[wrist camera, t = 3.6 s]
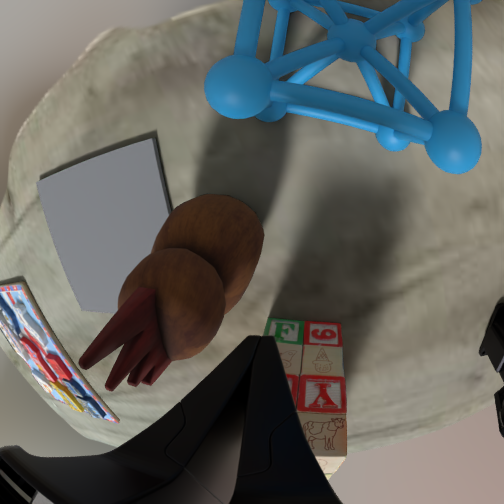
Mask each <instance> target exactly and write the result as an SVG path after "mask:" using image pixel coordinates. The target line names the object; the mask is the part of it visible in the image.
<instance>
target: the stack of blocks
mask: <svg viewBox="0 0 504 504" xmlns="http://www.w3.org/2000/svg"><path fill="white" fill-rule="evenodd" d="M263 335H273V336H274V337H275V339H276V343H277V346H278V349H279V353H280V356H281V359H282V363H283V366H284V369H285V373H286V376H287V379H288V383H289V386H290V389H291V393H292V396H293V399H294V402H295V406H296V409H297V413H298V415H299V419H300V422H301V425H302V428H303V430H304V433H305V436H306V438H307V440H308V443H309V445H310V447H311V449H312V451H313V453H314V455H315V457H316V459H317V461H318V463H319V465H320V467H321V468H322V470H323V472H324V474H325V476H326V478H327V480H329V478H330V477H331V476H332V474H333V473H335V472H336V470H337V469H338V468H339V467H340V465H341V464H342V463H343V462H344V460H345V459H346V455H347V421H346V412H347V398H346V385H345V378H344V365H343V341H342V331H341V324H340V323H328V322H314V321H297V320H287V319H277V318H268V319H267V323H266V326H265V330H264V334H263Z"/></svg>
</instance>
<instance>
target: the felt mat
mask: <svg viewBox="0 0 504 504" xmlns="http://www.w3.org/2000/svg"><path fill="white" fill-rule="evenodd" d="M36 184H37V188H38V192H39V196H40V200H41V204H42V207H43V211H44V214H45V217H46V221H47V224H48V227H49V230H50V233H51V236H52V239H53V242H54V245H55V248H56V250H57V253H58V256H59V259H60V261H61V264H62V266H63V269H64V271H65V274H66V276H67V279H68V281H69V283H70V286H71V288H72V290H73V292H74V295H75V297H76V299H77V301H78V303H79V305H80V307H81V310H82V311H91V312H102V313H114V314H115V313H116V312H117V311H118V296H119V293H120V290H121V288H122V285H123V283H124V281H125V279H126V277H127V276H128V275H129V274H130V273H131V271H132V270H133V269H134V268H135V267H136V266H137V265H138V264H139V263H140V262H141V261H142V260H143V259H144V258H145V257H146V256H148V255H149V254H151V250H152V247H153V244H154V242H155V239H156V236H157V235H158V233H159V231H160V229H161V228H162V226H163V224H164V223H165V221H166V219H167V218H168V216H169V215H170V213H171V208H170V204H169V199H168V195H167V191H166V186H165V182H164V177H163V173H162V168H161V163H160V158H159V154H158V149H157V143H156V138H151V139H148V140H144V141H141V142H138V143H134V144H131V145H128V146H125V147H122V148H119V149H116V150H113V151H110V152H108V153H105V154H102V155H99V156H97V157H94V158H91V159H89V160H86V161H84V162H81V163H79V164H76V165H74V166H71V167H69V168H67V169H64V170H62V171H60V172H57V173H55V174H53V175H51V176H48V177H46V178H44V179H42V180H40V181H38V182H36Z"/></svg>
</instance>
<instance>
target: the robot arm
mask: <svg viewBox="0 0 504 504" xmlns="http://www.w3.org/2000/svg"><path fill="white" fill-rule="evenodd" d="M479 355H480V356H485V355H488V357H489V359H490V361H491V363H492V365H493V367H494V369H495V371H496V372H497V373H498V372H499V373H500V375H501V377H502V380H503V382H504V303H502V304H499V305H497V307H496V308H495V311H494V314H493V317H492V320H491V322H490V325H489V328H488V330H487V333H486V335H485V338H484V340H483V343H482V345H481V348H480V350H479ZM494 397H495V404H496V410H497V416H498V423H499V431H500V433H501V435H502V437H504V386H503V387H502V388H501V389H500V390H498V391H497V392H496V393H495V394H494ZM0 504H343V503H342V502H341V501H340V499H339V498H338V496H337V495H336V493H335V492H334V490H333V489H332V487H331V485H330V484H329V482H328V480H327V478H326V476H325V474H324V472H323V470H322V468H321V467H320V465H319V463H318V461H317V459H316V457H315V455H314V453H313V451H312V449H311V447H310V445H309V443H308V440H307V438H306V436H305V433H304V430H303V428H302V425H301V422H300V419H299V415H298V413H297V409H296V406H295V402H294V399H293V396H292V393H291V389H290V386H289V383H288V379H287V376H286V373H285V369H284V366H283V363H282V359H281V356H280V353H279V349H278V346H277V343H276V339H275V337H274V336H273V335H263V336H260V335H249V336H247V337H246V338H245V339H244V340H243V341H242V342H241V343H240V344H239V345H238V346H237V347H236V348H235V349H234V350H233V351H232V352H231V353H230V354H229V355H228V356H227V357H226V358H225V359H224V360H223V361H222V362H221V363H220V364H219V365H218V366H217V367H216V368H215V369H214V370H213V371H212V372H211V373H210V374H209V375H208V376H207V377H205V378H204V379H203V380H202V381H201V382H200V383H199V384H198V385H197V386H196V387H195V388H194V389H193V390H192V391H191V392H189V393H188V394H187V395H186V396H185V397H184V398H183V399H182V400H181V403H180V402H178V403H177V404H176V405H175V406H174V407H173V408H172V409H171V410H169V411H168V412H167V413H166V414H165V415H164V416H162V417H161V418H160V419H159V420H157V421H156V422H155V423H153V424H152V425H151V426H149V427H148V428H146V429H145V430H143V431H142V432H141V433H139V434H138V435H136V436H135V437H133V438H132V439H130V440H128V441H127V442H125V443H124V444H122V445H121V446H119V447H118V448H116V449H114V450H112V451H110V452H107V453H104V454H100V455H92V456H77V457H38V456H34V455H31V454H29V453H27V452H26V451H25V450H23V449H22V448H21V447H20V446H17V445H14V446H4V447H1V448H0Z"/></svg>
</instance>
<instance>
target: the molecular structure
mask: <svg viewBox="0 0 504 504" xmlns="http://www.w3.org/2000/svg"><path fill="white" fill-rule="evenodd" d="M447 1H449V0H401V1H399V2H397V3H395V4H394V5H392V6H390V7H389V8H387V9H385V10H384V11H382V12H379V11H376V10H372V9H369V8H365V7H362V6H358V5H354V4H350V3H346V2H341V1H337V0H268V2H269V4H270V5H271V6H272V7H273V8H274V9H276V10H277V11H278V13H277V19H276V25H275V31H274V37H273V43H272V49H271V55H270V61H269V62H267V63H263V62H262V61H260V60H259V59H257V58H255V56H256V50H257V44H258V38H259V32H260V27H261V21H262V16H263V10H264V5H265V0H244V1H243V6H242V11H241V16H240V21H239V27H238V32H237V37H236V43H235V49H234V55H231V56H228V57H225V58H223V59H221V60H219V61H218V62H217V63H216V64H214V65H213V66H212V67H211V69H210V70H209V72H208V73H207V76H206V79H205V82H204V90H205V95H206V99H207V101H208V102H209V104H210V105H211V107H212V108H213V109H215V110H216V111H217V112H218V113H220V114H222V115H224V116H226V117H229V118H233V119H245V118H249V117H252V116H255V117H256V118H257V119H259V120H261V121H264V122H274V121H277V120H279V119H281V118H282V117H283V116H284V115H285V114H286V112H288V113H293V114H299V115H304V116H309V117H314V118H319V119H323V120H328V121H332V122H336V123H340V124H344V125H348V126H352V127H356V128H359V129H363V130H367V131H370V132H374V133H375V134H376V138H377V140H378V142H379V143H380V144H381V145H382V146H383V147H384V148H385V149H387V150H389V151H401V150H404V149H405V148H406V147H407V146H408V145H409V144H410V142H414V143H418V144H423V145H425V149H426V151H427V154H428V155H429V157H430V159H431V160H432V162H433V163H434V164H435V165H436V166H437V167H439V168H440V169H442V170H444V171H445V172H448V173H453V174H462V173H465V172H468V171H469V170H471V169H472V168H474V166H475V165H476V164H477V162H478V160H479V158H480V155H481V149H482V144H481V137H480V134H479V132H478V129H477V128H476V126H475V125H474V124H473V122H472V121H471V120H470V119H469V118H468V117H467V112H468V104H469V95H470V85H471V71H472V19H471V6H470V5H474V4H477V3H479V2H481V1H482V0H454V17H455V49H454V68H453V80H452V90H451V98H450V106H449V110H443V111H441V112H439V111H438V109H437V108H436V107H435V106H434V105H433V104H432V103H431V102H430V101H429V100H428V98H427V97H426V96H425V95H424V94H423V93H422V92H421V91H420V90H419V89H418V88H417V87H416V86H415V85H414V84H413V83H412V82H411V81H410V80H409V79H408V77H409V68H410V59H411V48H412V42H417V41H419V40H420V39H422V37H423V36H424V33H425V27H424V24H423V22H422V21H423V20H425V19H426V18H427V17H428V16H430V15H431V14H432V13H433V12H435V11H436V10H437V9H438V8H440V7H441V6H442V5H444V4H445V3H446V2H447ZM313 6H317V7H323V8H324V9H325V11H326V12H327V14H328V15H329V16H328V15H326V14H325V13H323V12H321V11H320V10H318V9H316V8H315V7H313ZM297 10H299V11H300V12H302V13H303V14H305V15H306V16H308V17H309V18H311V19H312V20H314V21H315V22H317V23H318V24H320V25H321V26H323V27H324V28H325V29H327V30H328V34H327V40H325V41H322V42H319V43H316V44H313V45H310V46H308V47H305V48H302V49H299V50H297V51H294V52H291V53H289V54H286V55H284V56H283V52H284V46H285V40H286V33H287V27H288V21H289V15H290V12H295V11H297ZM344 12H346V13H351V14H355V15H358V16H362V17H366V18H369V20H368V21H366V22H365V23H363V22H361V21H359V20H356V19H348V18H347V16H346V14H345V13H344ZM393 35H396V36H397V37H398V38H400V39H401V43H400V54H399V63H398V69H397V68H396V67H395V66H394V65H393V64H392V63H390V62H389V61H388V60H387V59H386V58H385V57H383V56H382V55H381V54H380V53H379V52H377V51H376V45H377V43H376V40H378V39H382V38H385V37H389V36H393ZM338 58H341V59H343V60H346V61H349V62H356V63H357V65H358V67H359V69H360V71H361V73H362V75H363V77H364V79H365V81H366V83H367V85H368V87H369V90H370V92H371V94H372V96H373V98H374V101H375V102H373V101H370V100H366V99H363V98H359V97H356V96H352V95H348V94H344V93H340V92H336V91H331V90H327V89H322V88H318V87H313V86H307V85H303V84H304V83H305V82H307V81H308V80H309V79H311V78H312V77H313V76H315V75H316V74H317V73H319V72H320V71H322V70H323V69H324V68H326V67H327V66H328V65H330V64H331V63H333V62H334V61H336V60H337V59H338ZM302 67H303V68H302ZM299 68H301V69H300V70H299V71H298V72H296V73H295V74H294V75H293V76H291V77H290V78H289V79H288V80H287V81H285V82H284V81H279V78H280V77H282V76H284V75H286V74H288V73H290V72H293V71H295V70H297V69H299ZM374 68H375V69H376V70H377V71H378V72H379V73H380V74H381V75H382V76H383V77H385V78H386V79H387V80H388V81H389V82H390V83H391V84H392V85H393V86H394V87H395V93H394V100H393V106H392V107H390V105H389V102H388V100H387V97H386V95H385V92H384V90H383V88H382V85H381V83H380V81H379V78H378V76H377V74H376V72H375V69H374ZM405 99H406V100H407V101H408V102H409V103H410V104H411V105H412V106H413V107H414V109H415V110H416V111H417V112H418V113H419V114H420V115H421V116H422V118H423V119H422V118H420V117H417V116H414V115H412V114H409V113H406V112H404V105H405Z"/></svg>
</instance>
